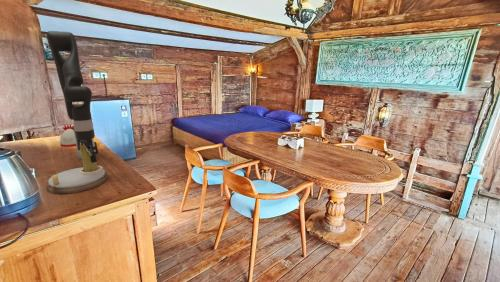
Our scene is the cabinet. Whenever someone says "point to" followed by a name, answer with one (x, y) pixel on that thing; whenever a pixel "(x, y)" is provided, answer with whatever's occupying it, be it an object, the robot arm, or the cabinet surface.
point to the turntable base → (76, 189)
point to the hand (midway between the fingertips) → (89, 160)
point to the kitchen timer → (68, 137)
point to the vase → (87, 161)
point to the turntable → (75, 178)
